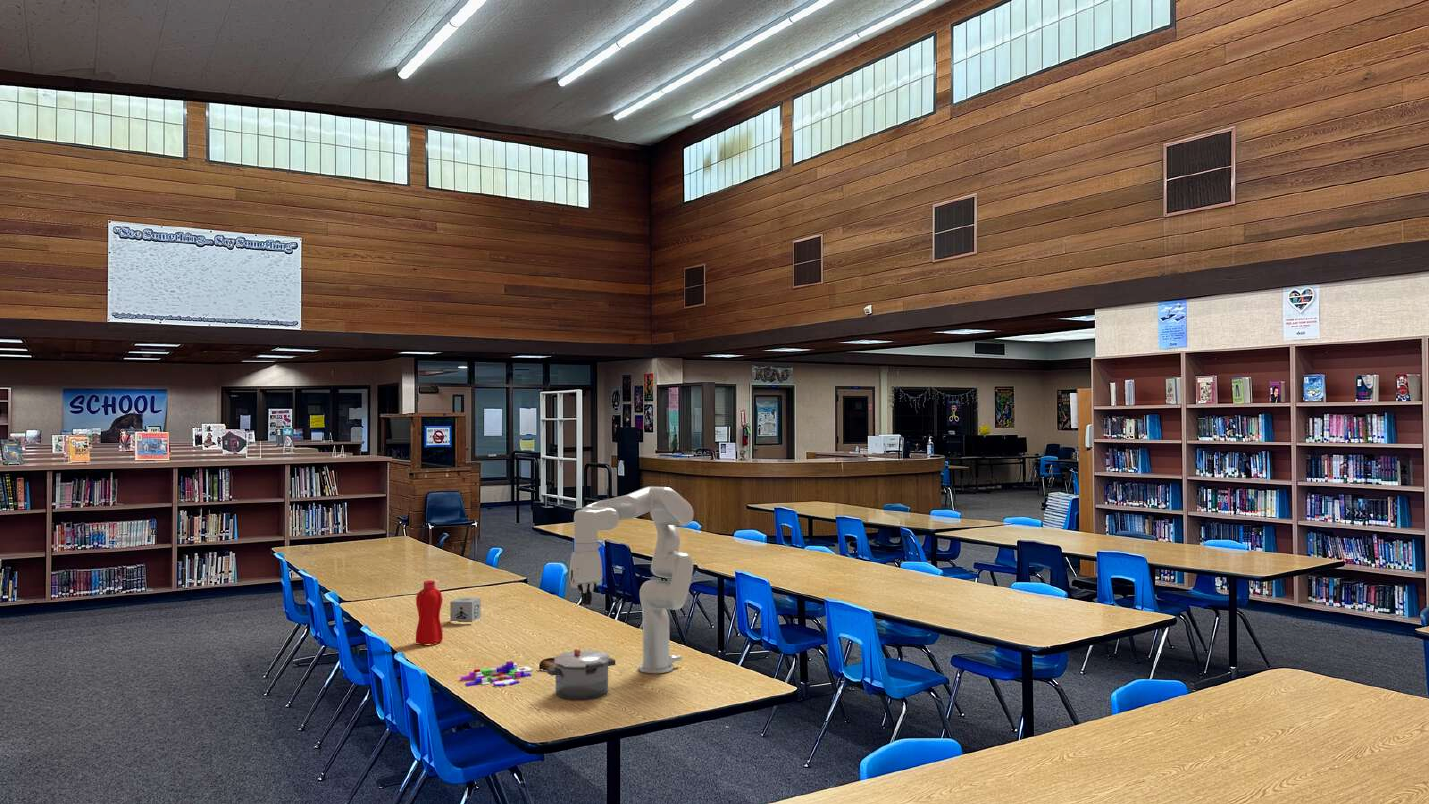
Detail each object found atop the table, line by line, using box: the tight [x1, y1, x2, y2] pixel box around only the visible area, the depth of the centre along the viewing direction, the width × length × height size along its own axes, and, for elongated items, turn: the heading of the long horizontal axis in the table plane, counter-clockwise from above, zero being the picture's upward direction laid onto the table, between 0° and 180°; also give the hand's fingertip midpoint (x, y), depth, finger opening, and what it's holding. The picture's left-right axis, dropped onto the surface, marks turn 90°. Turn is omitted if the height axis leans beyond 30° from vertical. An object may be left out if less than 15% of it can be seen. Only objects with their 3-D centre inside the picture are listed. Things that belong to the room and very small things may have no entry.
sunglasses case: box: [538, 656, 556, 670], centre depth 328 cm, size 18×7×7 cm
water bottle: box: [415, 580, 444, 645], centre depth 363 cm, size 9×11×25 cm
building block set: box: [460, 660, 534, 687], centre depth 312 cm, size 25×20×4 cm
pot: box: [546, 657, 616, 702], centre depth 295 cm, size 23×18×10 cm
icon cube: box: [449, 596, 482, 622], centre depth 403 cm, size 10×10×10 cm
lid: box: [554, 648, 610, 669], centre depth 294 cm, size 18×20×3 cm
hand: (586, 604), depth 293 cm, fingers closed
